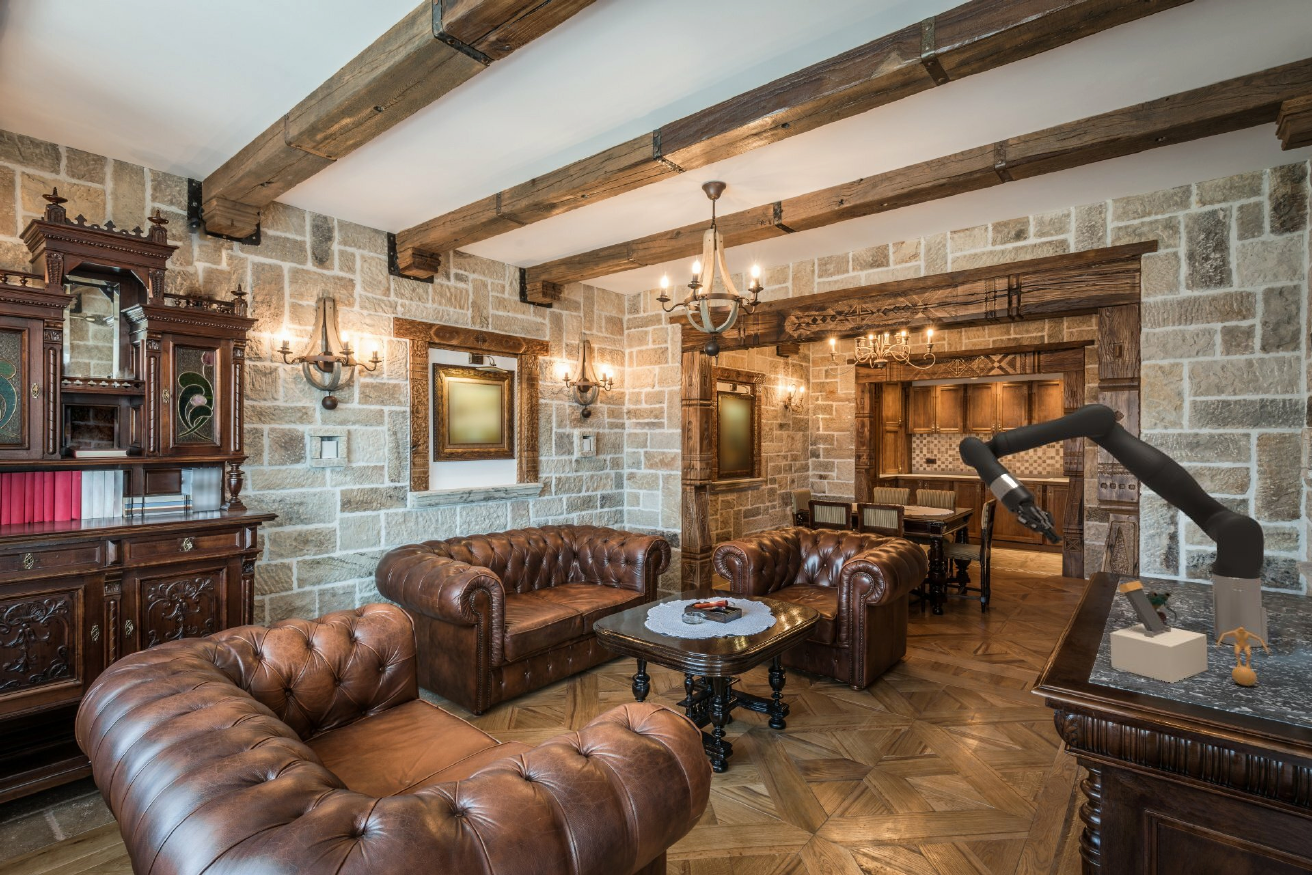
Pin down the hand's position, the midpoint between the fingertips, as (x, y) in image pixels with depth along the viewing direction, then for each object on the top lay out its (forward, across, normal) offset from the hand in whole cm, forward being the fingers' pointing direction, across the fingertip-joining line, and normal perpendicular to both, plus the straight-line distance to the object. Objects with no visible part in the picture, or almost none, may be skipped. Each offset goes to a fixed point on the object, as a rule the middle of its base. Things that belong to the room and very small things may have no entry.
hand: (1058, 542), depth 165 cm
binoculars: (+22, +38, +16) cm, 47 cm away
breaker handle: (+28, 0, -3) cm, 28 cm away
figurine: (+44, +5, -6) cm, 45 cm away
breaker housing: (+34, 0, +3) cm, 34 cm away
